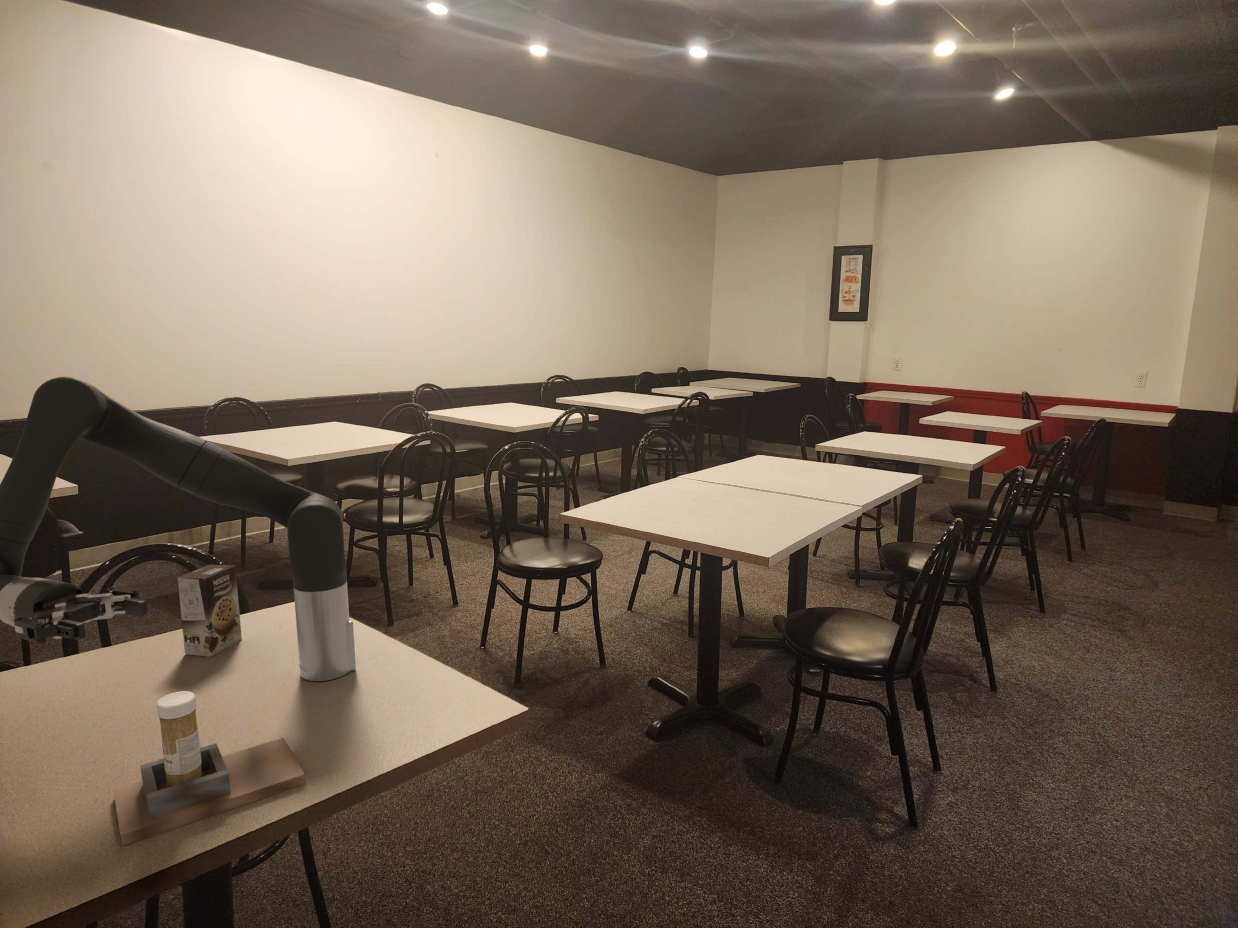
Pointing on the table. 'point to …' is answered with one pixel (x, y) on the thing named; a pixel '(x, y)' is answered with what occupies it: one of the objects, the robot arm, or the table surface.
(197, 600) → the cookie box
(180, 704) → the sprinkles bottle
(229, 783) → the board
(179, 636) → the table surface
